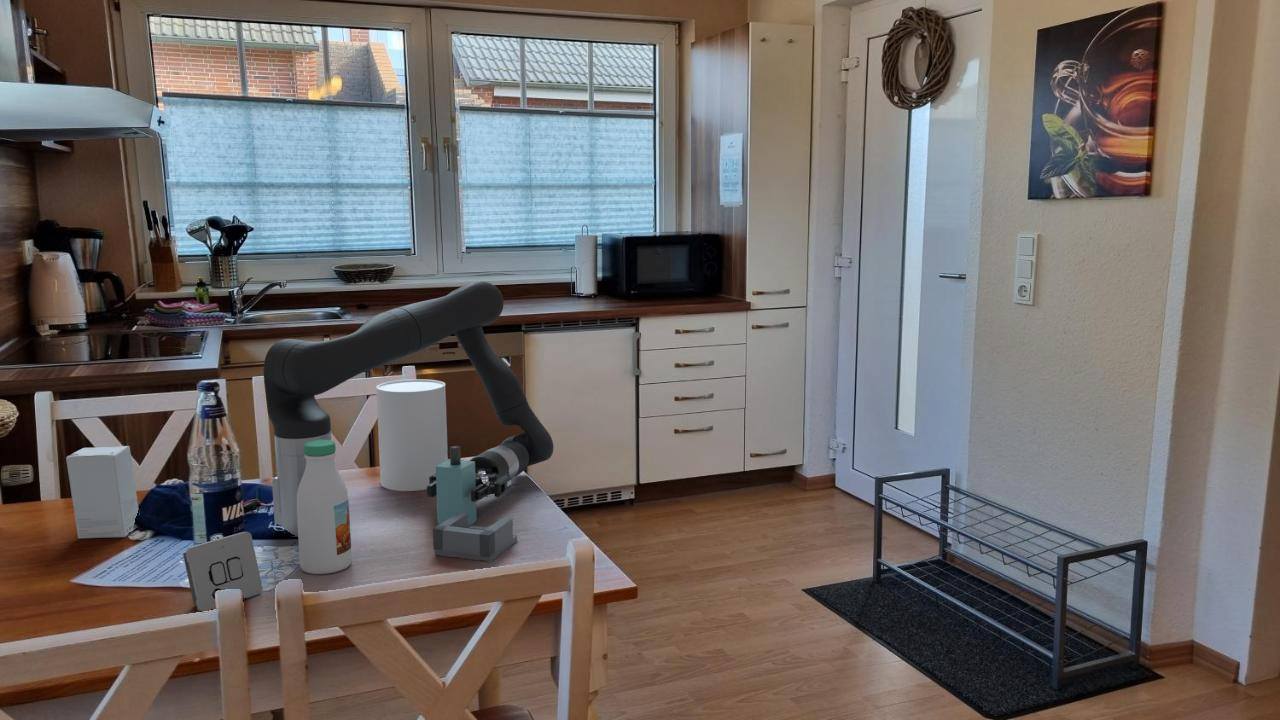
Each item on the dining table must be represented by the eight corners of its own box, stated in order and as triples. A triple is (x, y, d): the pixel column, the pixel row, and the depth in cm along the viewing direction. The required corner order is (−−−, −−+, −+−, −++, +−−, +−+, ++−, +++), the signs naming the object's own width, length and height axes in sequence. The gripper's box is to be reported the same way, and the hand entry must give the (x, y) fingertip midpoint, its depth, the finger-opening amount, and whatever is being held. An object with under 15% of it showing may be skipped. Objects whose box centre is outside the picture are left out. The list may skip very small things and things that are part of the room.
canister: (418, 468, 202) (414, 376, 199) (462, 478, 194) (459, 384, 191) (366, 483, 191) (362, 386, 188) (411, 495, 184) (407, 394, 180)
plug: (451, 517, 170) (449, 442, 168) (476, 520, 169) (474, 445, 167) (437, 526, 166) (435, 449, 163) (463, 529, 164) (460, 452, 162)
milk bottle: (322, 579, 142) (315, 451, 139) (289, 569, 146) (281, 444, 143) (362, 563, 149) (356, 440, 145) (329, 553, 153) (323, 434, 149)
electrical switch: (201, 615, 130) (193, 550, 129) (183, 609, 133) (175, 545, 132) (264, 594, 137) (257, 532, 136) (246, 588, 140) (239, 528, 139)
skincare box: (141, 527, 165) (134, 445, 163) (123, 539, 159) (116, 454, 157) (92, 527, 165) (84, 445, 162) (73, 539, 159) (64, 454, 156)
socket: (464, 534, 162) (463, 509, 161) (517, 540, 159) (516, 515, 158) (433, 555, 152) (432, 528, 151) (489, 562, 149) (489, 535, 148)
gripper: (458, 447, 181) (414, 469, 166) (526, 453, 177) (487, 477, 162) (459, 485, 182) (415, 510, 167) (527, 491, 178) (488, 518, 163)
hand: (451, 494), depth 164 cm, fingers open, 8 cm apart
